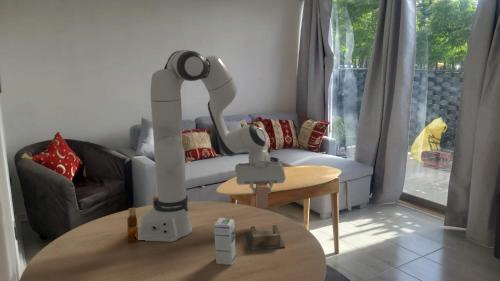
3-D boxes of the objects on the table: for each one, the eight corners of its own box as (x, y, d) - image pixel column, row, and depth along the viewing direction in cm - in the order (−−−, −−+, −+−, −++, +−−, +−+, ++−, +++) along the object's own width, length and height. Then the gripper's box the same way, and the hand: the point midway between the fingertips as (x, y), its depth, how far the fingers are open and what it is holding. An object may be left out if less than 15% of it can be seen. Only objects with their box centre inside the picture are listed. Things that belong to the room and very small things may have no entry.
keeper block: (256, 208, 156) (256, 187, 154) (255, 204, 161) (255, 183, 159) (268, 207, 157) (268, 186, 155) (266, 203, 161) (266, 183, 159)
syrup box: (232, 265, 130) (231, 225, 127) (215, 263, 131) (213, 224, 128) (236, 256, 135) (235, 218, 132) (220, 255, 137) (218, 217, 133)
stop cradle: (249, 250, 140) (248, 238, 139) (246, 233, 152) (246, 222, 151) (284, 247, 141) (284, 236, 140) (279, 231, 153) (279, 220, 152)
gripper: (235, 159, 161) (236, 190, 153) (283, 158, 162) (287, 188, 155) (234, 167, 166) (236, 196, 159) (281, 165, 168) (285, 195, 160)
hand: (262, 192), depth 157 cm, fingers closed on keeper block, 4 cm apart
